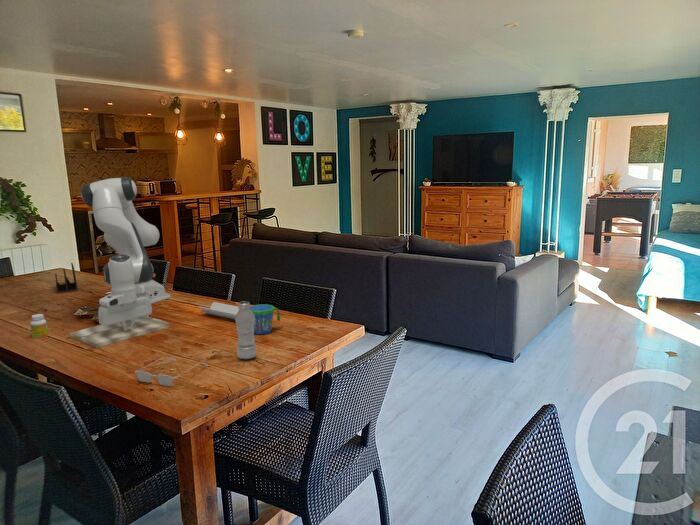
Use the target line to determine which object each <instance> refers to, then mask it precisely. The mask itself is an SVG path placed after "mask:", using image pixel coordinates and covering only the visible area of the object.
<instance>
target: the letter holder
mask: <svg viewBox="0 0 700 525" xmlns="http://www.w3.org/2000/svg"><path fill="white" fill-rule="evenodd" d="M70 263H71V264H70V266H71V270H72V275H73V282H70V280H69V278H68V276H67V273H66V269H65V268H63V269H62V270H63V278H64V282H65V283H61V284H60V283H59V281H58V276H57V273H54V276H55V278H54V279H55V287H56V293H57V294H58V293H59V294H65V293H72V292H74V293H75V292H78V291H79V288H78V284H77V283H78V282H77V278H76V273H75V272H76V270H75V266H74V263H73V262H70Z"/></svg>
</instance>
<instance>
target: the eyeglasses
mask: <svg viewBox="0 0 700 525" xmlns="http://www.w3.org/2000/svg"><path fill="white" fill-rule="evenodd" d="M164 359H168V360H169V361H172V362H173V363H174V362H177V359H175V358H172V357H161V358H159V359H157V360H156V361H153V362H151V363H149V364H147V365H146V366H144V367H142V368H141V369H138V370H135V371H134V374H136V377H137V378H138V380H139V382H144V383H148V384H150V383H151V382H152V380H153V378H154V377H156V379H157V382H158V384H159V385H161V386H167V387H171V386H172V383H173V380H176V379H178V377H180V376H181V375H184V374H185V373H186V372H188V371H190V370H191V369H193V368H195V367H196V366H198V365H199V364H202V365H204V366H205V367H208V366H209V363H208V364H207V363H206V362H199V363H196V364H195V365H194V366H192V367H191V368H189V369H188V370H186V371H184V372H182V373H181V374H178V375H175V376H174V377H172V376H171V375H167V374H157V375H156V374H151V373H150V372H147V371H143V369H144V368H146V367H149V366H150V365H152V364H153V363H156V362H159V361H160V360H164Z"/></svg>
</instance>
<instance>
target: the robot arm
mask: <svg viewBox="0 0 700 525" xmlns="http://www.w3.org/2000/svg"><path fill="white" fill-rule="evenodd" d="M80 190H81V191H80V195H81V199H82V201H83V202H84V204H85V205H86V206H87V207H89V208H92V211H93V212H92V213H93V217H94V221H95V225H96V227H97V228H98V229H99V230H100V231H102V232H103V237H104V241H105V243H106V245H108V246H110V247H111V248H112V249H114V250H115V251H116V252H117V254H115V255H113V256H110V258H109V261H108V262H107V263H106V264H105V265H104V266H103V267H102V270H103V278H104V279H103V282H105V283H106V284H108V285H110V286H111V288H110V293H108V294H107V295H105V296H104V297H102V298H100V299H99V300H98V303H99V305H100V306H99V307H98V311H97V312H98V323H99V325H104V326H107V325H111V324H115V323H119V322H120V324H121V325H122V327H123V330H124V331H125V332H126V331H130V330H133V327H132V326H133V324H134V321H135V319H134V318H138V317H142V316H148V315H151V314H152V313H153V307H152V304H155V303H158V302H162V301H164V300H168V299H171V297H172V296H171V294H170V293H167V291H166V288H165V287H164V285H163V284H161V283H159V282H157V281H156V280H154V279H153V278H155V277H156V273H154V266H153V264H152V263H151V260H150V258H149V256H148V254H147V251H146V249H145V247H150V246H154V245H155V246H156V244H157V243H158V241H159V239H160V231H159V229H158V228H157V227H156V225H154V224H152V223H149V222H147V221H146V220H145V219H144V218H142V217H141V216H140V215H139V214H138V212H137V210H136V208H135V206H134V203H133V200H135V199H136V198H137V194H138V188H137V185H136V183H135V181H134V180H133V179H132V178H131V177H127V176H121V177H115V178H114V177H113V178H112V177H111V178H106V179H102V180H97V181H94V182H89V183H85V184H83V185H82V186H81V189H80ZM126 320H129V321H130V322H129V325H128V326H126V325H125V324H124V323H126Z"/></svg>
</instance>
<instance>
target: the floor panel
mask: <svg viewBox="0 0 700 525" xmlns="http://www.w3.org/2000/svg"><path fill="white" fill-rule="evenodd" d="M152 318H153V317H151V316H148V315H145V316H142V317H138V318H134V319H135V321H134V323H137V322H141V321H145V320H149V319H152ZM129 322H130V321H129V320H126V323H124V324H125V325H129ZM119 327H122V325H121V324H120V322H119V323H115V324H111V325H107V326H104V325H101V324H99V325H96V326H91V327H87V328H83V329H80V330H79V329H78V330H75V331H71V332H69V337H71V338H73V339H75V340H77V341H79V342H80V341H81V342H82V340H81V338H82V337H85V336H89V335H93V334H96V333H100V332H104V331H108V330H111V329H115V328H119Z"/></svg>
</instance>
